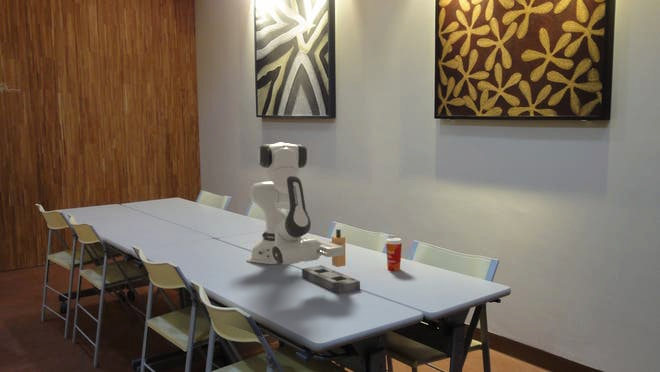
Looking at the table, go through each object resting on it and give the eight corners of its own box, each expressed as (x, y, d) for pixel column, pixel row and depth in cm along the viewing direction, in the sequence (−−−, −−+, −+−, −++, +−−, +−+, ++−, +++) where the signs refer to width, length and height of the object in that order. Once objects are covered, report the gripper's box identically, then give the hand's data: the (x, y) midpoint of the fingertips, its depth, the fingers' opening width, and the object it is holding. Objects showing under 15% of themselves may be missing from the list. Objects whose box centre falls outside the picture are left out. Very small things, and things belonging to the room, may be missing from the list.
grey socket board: (302, 276, 260) (302, 268, 260) (321, 272, 265) (321, 265, 265) (339, 293, 235) (339, 285, 234) (360, 289, 240) (360, 281, 240)
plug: (332, 265, 244) (331, 229, 242) (340, 263, 246) (339, 228, 244) (337, 267, 240) (336, 231, 238) (345, 265, 242) (345, 229, 241)
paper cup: (382, 268, 272) (382, 238, 270) (397, 266, 274) (397, 237, 272) (390, 272, 264) (390, 242, 263) (405, 270, 267) (405, 240, 265)
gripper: (325, 246, 226) (354, 241, 233) (298, 237, 243) (327, 233, 250) (325, 262, 227) (354, 257, 234) (299, 252, 244) (327, 247, 251)
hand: (340, 244), depth 242 cm, fingers closed on plug, 4 cm apart
